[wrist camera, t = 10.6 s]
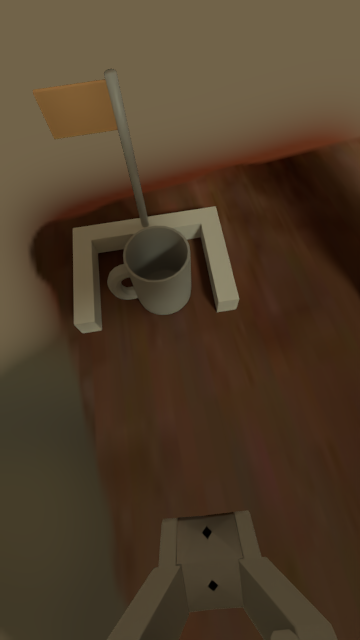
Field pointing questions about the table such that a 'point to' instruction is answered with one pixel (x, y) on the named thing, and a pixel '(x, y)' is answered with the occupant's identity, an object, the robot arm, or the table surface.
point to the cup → (155, 270)
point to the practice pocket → (107, 115)
